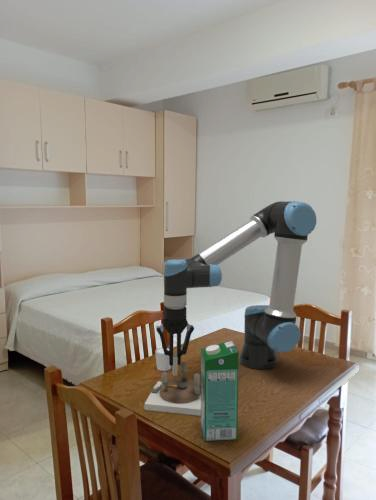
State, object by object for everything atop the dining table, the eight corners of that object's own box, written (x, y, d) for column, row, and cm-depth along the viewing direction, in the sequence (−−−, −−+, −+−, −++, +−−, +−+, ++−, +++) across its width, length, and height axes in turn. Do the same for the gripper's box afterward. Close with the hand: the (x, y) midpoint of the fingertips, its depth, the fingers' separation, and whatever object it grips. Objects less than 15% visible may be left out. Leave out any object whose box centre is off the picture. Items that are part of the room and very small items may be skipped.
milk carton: (200, 423, 117) (201, 340, 114) (231, 421, 118) (232, 339, 115) (204, 441, 108) (205, 352, 105) (237, 439, 109) (238, 351, 106)
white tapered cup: (173, 364, 159) (173, 347, 158) (171, 372, 152) (171, 354, 152) (156, 364, 160) (156, 347, 159) (153, 371, 153) (153, 353, 152)
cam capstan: (202, 384, 137) (202, 362, 136) (199, 403, 124) (199, 380, 123) (163, 381, 139) (163, 360, 138) (155, 401, 125) (155, 377, 124)
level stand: (214, 392, 136) (214, 381, 136) (208, 416, 121) (208, 404, 120) (158, 386, 140) (158, 376, 140) (144, 409, 125) (144, 398, 124)
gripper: (193, 303, 138) (192, 368, 141) (155, 303, 136) (155, 370, 139) (196, 308, 130) (195, 378, 133) (156, 309, 129) (156, 379, 132)
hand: (174, 374), depth 136 cm, fingers closed
